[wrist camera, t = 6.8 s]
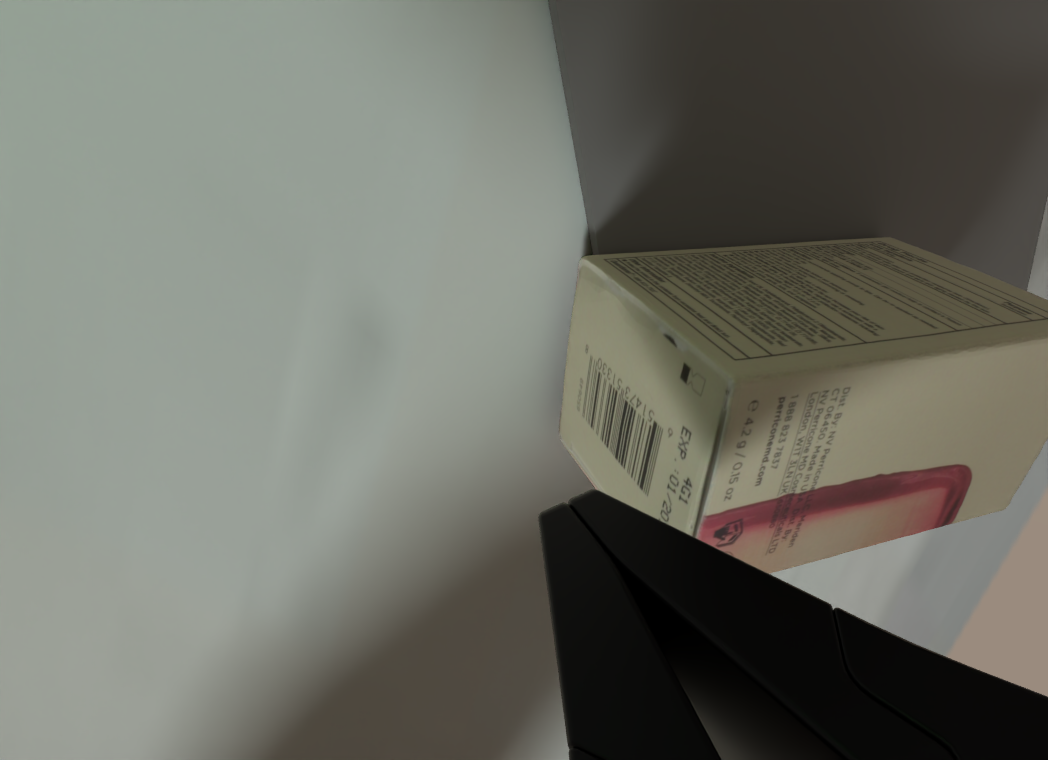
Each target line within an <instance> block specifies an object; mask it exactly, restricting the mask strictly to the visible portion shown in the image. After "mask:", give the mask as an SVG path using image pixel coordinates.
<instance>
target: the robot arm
mask: <svg viewBox="0 0 1048 760" xmlns="http://www.w3.org/2000/svg"><path fill="white" fill-rule="evenodd" d="M538 518H539V527H540V535H541V543H542V550H543V558H544V566H545V573H546V581H547V589H548V596H549V604H550V612H551V619H552V627H553V634H554V642H555V650H556V657H557V665H558V673H559V680H560V688H561V696H562V703H563V711H564V719H565V726H566V734H567V742H568V746H569V749H570V750H569V760H1048V697H1047V696H1044V695H1042V694H1039V693H1037V692H1034V691H1031V690H1029V689H1026V688H1024V687H1021V686H1018V685H1016V684H1013V683H1011V682H1008V681H1005V680H1003V679H1000V678H998V677H995V676H993V675H990V674H987V673H985V672H982V671H980V670H977V669H974V668H972V667H969V666H967V665H965V664H962V663H960V662H957V661H955V660H952V659H950V658H948V657H945V656H943V655H940V654H938V653H935V652H933V651H931V650H928V649H926V648H923V647H921V646H918V645H916V644H914V643H912V642H909V641H907V640H905V639H903V638H901V637H899V636H896V635H894V634H892V633H890V632H888V631H886V630H883V629H881V628H879V627H877V626H875V625H873V624H870V623H868V622H866V621H864V620H862V619H860V618H858V617H856V616H854V615H852V614H850V613H848V612H846V611H844V610H842V609H840V608H835V609H834V610H833V608H832V606H831V604H829V603H827V602H825V601H823V600H821V599H819V598H817V597H815V596H813V595H811V594H809V593H807V592H805V591H803V590H801V589H799V588H797V587H795V586H792V585H790V584H788V583H786V582H784V581H782V580H780V579H778V578H776V577H774V576H772V575H770V574H768V573H766V572H764V571H762V570H760V569H758V568H756V567H754V566H752V565H750V564H748V563H746V562H744V561H742V560H740V559H738V558H735V557H733V556H731V555H729V554H727V553H725V552H723V551H721V550H719V549H717V548H715V547H713V546H711V545H709V544H707V543H705V542H703V541H701V540H699V539H697V538H695V537H693V536H691V535H689V534H687V533H685V532H683V531H681V530H678V529H676V528H674V527H672V526H670V525H668V524H666V523H664V522H662V521H660V520H658V519H656V518H654V517H652V516H650V515H648V514H646V513H644V512H642V511H640V510H638V509H636V508H634V507H632V506H630V505H628V504H626V503H624V502H621V501H619V500H617V499H615V498H613V497H611V496H609V495H607V494H605V493H603V492H601V491H599V490H590V491H587V492H585V493H583V494H581V495H579V496H576V497H574V498H572V499H570V500H569V502H568V504H566V503H561V504H559V505H556V506H554V507H552V508H550V509H548V510H545V511H543V512H541V513H540V514H539V517H538Z"/></svg>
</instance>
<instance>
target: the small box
mask: <svg viewBox="0 0 1048 760" xmlns="http://www.w3.org/2000/svg"><path fill="white" fill-rule="evenodd" d="M559 437H560V439H561V441H562V443H563V445H564V446H565V448H566V449H567V450H568V452H569V453H570V455H571V456H572V457H573V458H574V460H575V461H576V462H577V464H578V465H579V467H580V468H581V469H582V471H583V472H584V474H585V475H586V476H587V478H588V479H589V480H590V482H591V483H592V484H593V486H594V487H595V489H596V490H599V491H601V492H603V493H605V494H607V495H609V496H611V497H613V498H615V499H617V500H619V501H621V502H624V503H626V504H628V505H630V506H632V507H634V508H636V509H638V510H640V511H642V512H644V513H646V514H648V515H650V516H652V517H654V518H656V519H658V520H660V521H662V522H664V523H666V524H668V525H670V526H672V527H674V528H676V529H678V530H681V531H683V532H685V533H687V534H689V535H691V536H693V537H695V538H697V539H699V540H701V541H703V542H705V543H707V544H709V545H711V546H713V547H715V548H717V549H719V550H721V551H723V552H725V553H727V554H729V555H731V556H733V557H735V558H738V559H740V560H742V561H744V562H746V563H748V564H750V565H752V566H754V567H756V568H758V569H760V570H762V571H764V572H766V573H768V574H769V573H772V572H776V571H780V570H784V569H788V568H792V567H795V566H799V565H803V564H806V563H810V562H814V561H818V560H821V559H825V558H829V557H832V556H836V555H839V554H842V553H845V552H849V551H853V550H857V549H860V548H864V547H868V546H872V545H876V544H879V543H883V542H887V541H890V540H894V539H897V538H901V537H905V536H909V535H913V534H916V533H920V532H923V531H926V530H930V529H934V528H938V527H941V526H945V525H948V524H953V523H957V522H960V521H964V520H968V519H971V518H975V517H979V516H982V515H986V514H990V513H994V512H998V511H1002V510H1004V509H1006V507H1007V506H1008V505H1009V504H1010V501H1011V499H1012V497H1013V496H1014V494H1015V493H1016V491H1017V489H1018V488H1019V486H1020V485H1021V483H1022V481H1023V480H1024V478H1025V476H1026V474H1027V473H1028V471H1029V470H1030V468H1031V466H1032V464H1033V462H1034V461H1035V459H1036V458H1037V456H1038V455H1039V453H1040V451H1041V449H1042V447H1043V445H1044V444H1045V442H1046V440H1047V439H1048V300H1046V299H1043V298H1041V297H1039V296H1036V295H1034V294H1032V293H1030V292H1027V291H1025V290H1023V289H1020V288H1018V287H1015V286H1013V285H1010V284H1008V283H1006V282H1003V281H1001V280H999V279H996V278H994V277H992V276H990V275H987V274H985V273H983V272H980V271H978V270H975V269H972V268H970V267H967V266H964V265H961V264H958V263H955V262H953V261H951V260H948V259H946V258H944V257H942V256H939V255H936V254H934V253H931V252H928V251H926V250H923V249H920V248H918V247H915V246H912V245H909V244H907V243H904V242H902V241H899V240H896V239H894V238H890V237H882V238H864V239H845V240H829V241H813V242H799V243H785V244H767V245H751V246H736V247H720V248H704V249H686V250H670V251H652V252H637V253H618V254H605V255H590V256H584V257H582V258H581V259H580V261H579V266H578V277H577V285H576V293H575V298H574V305H573V311H572V318H571V324H570V333H569V341H568V350H567V360H566V368H565V377H564V389H563V402H562V409H561V414H560V423H559Z"/></svg>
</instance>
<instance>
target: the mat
mask: <svg viewBox="0 0 1048 760" xmlns="http://www.w3.org/2000/svg"><path fill="white" fill-rule="evenodd" d="M548 2H549V8H550V14H551V19H552V25H553V31H554V36H555V42H556V48H557V53H558V59H559V65H560V70H561V76H562V82H563V87H564V93H565V99H566V104H567V110H568V116H569V121H570V127H571V133H572V138H573V144H574V150H575V155H576V161H577V166H578V172H579V178H580V183H581V189H582V195H583V200H584V206H585V212H586V217H587V223H588V229H589V234H590V240H591V246H592V251H593V255H605V254H618V253H637V252H652V251H670V250H686V249H704V248H720V247H736V246H751V245H767V244H785V243H799V242H813V241H829V240H845V239H864V238H882V237H890V238H894V239H896V240H899V241H902V242H904V243H907V244H909V245H912V246H915V247H918V248H920V249H923V250H926V251H928V252H931V253H934V254H936V255H939V256H942V257H944V258H946V259H948V260H951V261H953V262H955V263H958V264H961V265H964V266H967V267H970V268H972V269H975V270H978V271H980V272H983V273H985V274H987V275H990V276H992V277H994V278H996V279H999V280H1001V281H1003V282H1006V283H1008V284H1010V285H1013V286H1015V287H1018V288H1020V289H1023V290H1025V291H1027V287H1028V282H1029V278H1030V273H1031V269H1032V264H1033V260H1034V255H1035V250H1036V246H1037V241H1038V237H1039V232H1040V228H1041V223H1042V219H1043V214H1044V210H1045V205H1046V201H1047V196H1048V0H548Z"/></svg>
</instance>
